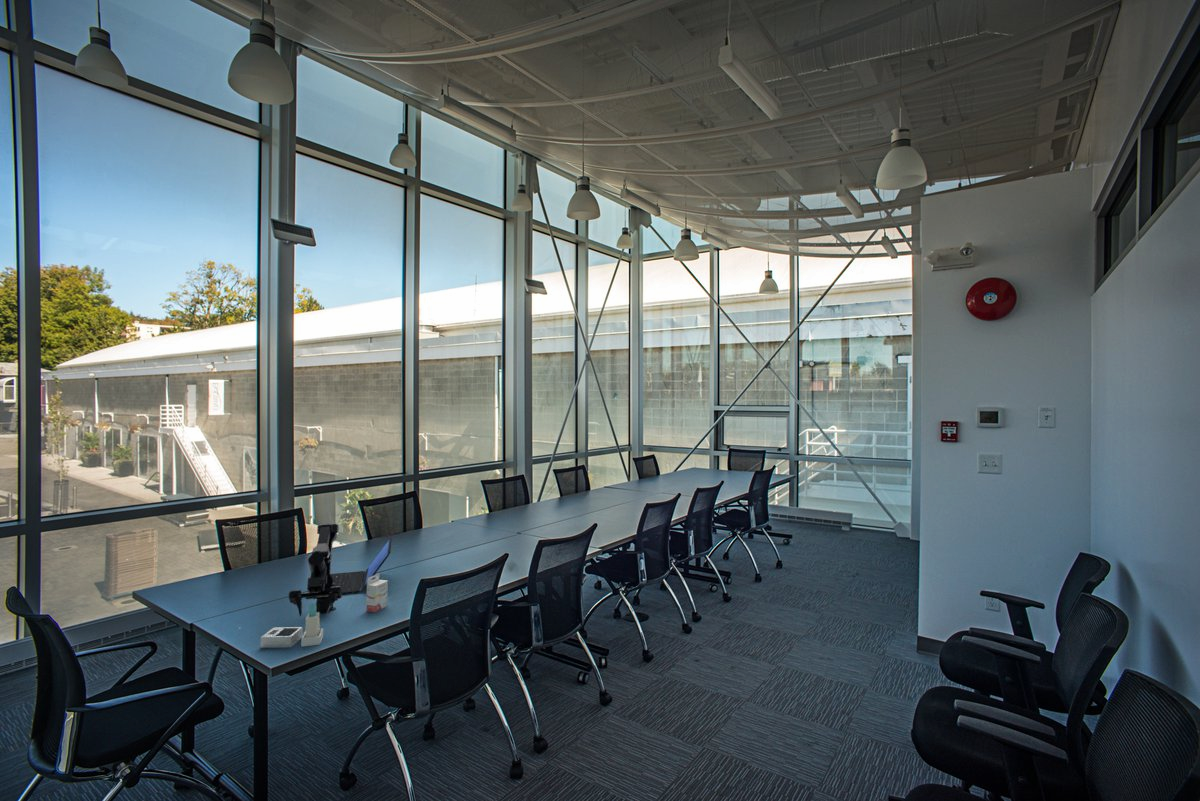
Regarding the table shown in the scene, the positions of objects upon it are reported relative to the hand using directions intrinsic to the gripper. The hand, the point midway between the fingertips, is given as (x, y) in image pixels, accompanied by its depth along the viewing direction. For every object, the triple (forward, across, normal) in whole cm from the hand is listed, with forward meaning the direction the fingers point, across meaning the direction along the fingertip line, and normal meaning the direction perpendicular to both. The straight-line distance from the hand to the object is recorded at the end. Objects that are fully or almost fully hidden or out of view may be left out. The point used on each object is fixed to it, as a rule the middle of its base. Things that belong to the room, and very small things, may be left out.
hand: (313, 614), depth 223 cm
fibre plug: (+8, 0, +6) cm, 10 cm away
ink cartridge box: (-12, +22, +26) cm, 36 cm away
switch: (+6, -11, +7) cm, 15 cm away
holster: (+8, 0, +6) cm, 10 cm away
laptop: (-41, +8, +55) cm, 69 cm away
